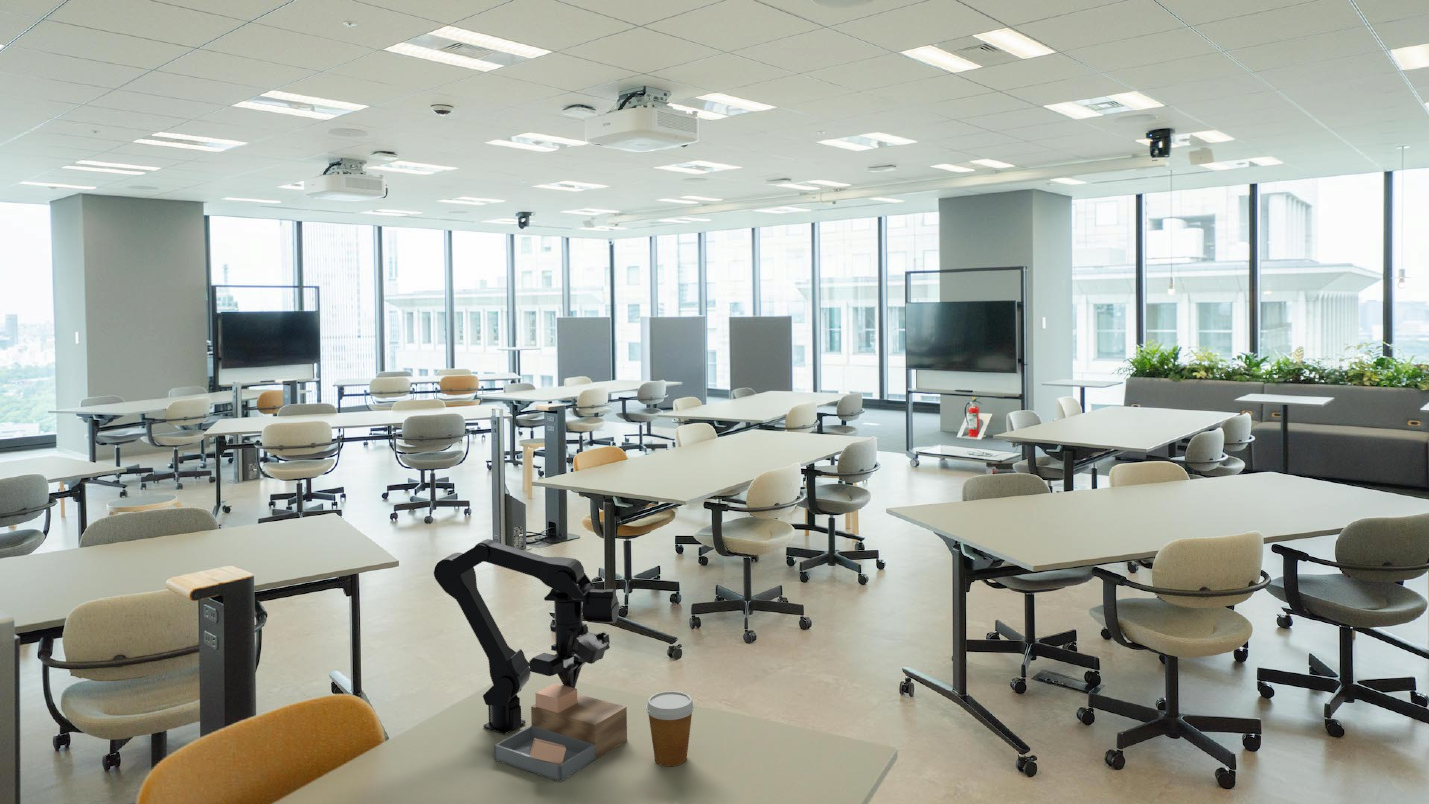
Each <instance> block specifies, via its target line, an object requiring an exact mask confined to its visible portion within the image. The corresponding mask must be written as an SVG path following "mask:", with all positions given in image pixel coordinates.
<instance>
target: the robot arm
mask: <svg viewBox="0 0 1429 804" xmlns="http://www.w3.org/2000/svg"><path fill="white" fill-rule="evenodd" d="M484 562H485V563H488V564H491V565H495V566H499V567H501V568H503V569H504V568H505V569H508V570H511V571H515V572H517V573H518V572H519V573H521V574H525V575H528V576H531V577H533V578H535V579H538V580H539V581H541V582H542V584H544V585H545V586H547V587H549V588H551V589H550V591H549V593H548V594H546V595H545V596H544V598H543V599H544V601H545V602H553V603H554V624H552V625H551V626H550V632H553V633H554V635H555V636H554V637H555V638H554V640H555V643H553V644H552V645H551V646H550V650H551V651H554V652H556V653H555V654H550V653H548V652H543V653H541V654H537V655H536V656H534V657H532V658H531V659H530V660H529V661H528V660H527V658H526V656H525V653H524V651H523V650H522V649H518V650H517V651H515V650H514V649H513V648H511V647H509V645H508V643H507V641H506V640H505V637H504V636H503V634H502V632H501V630H500V628H499V627H498V625H497V622H496V621H495V619H494V617H493V615H492V614H491V611H490V610H489V608H488V606H487V604H486V603H485V601H484V599H483V597H482V594H481V593H480V591H479V589H478V583H477V574H476V571H475V568H474V567H476V566H478V565H480V564H482V563H484ZM433 576H434V579H435V581H436V582H437V583H438V585H439V586H440V587H441V588H442V589H441V590H443V591H444V592H445V593H446V594H447V595H448V596H449V597H452V599H454V600H455V601H456V602H457V603H458V605H459V607H460V610H461V611H462V613H463V615H464V616H465V619H466V620H467V622H468V624H469V625H470V626H469V627H470V628H471V630H472V631H473V633H474V635H475V637H476V639H477V641H478V643H479V645H480V646H481V648H482V650H483V652H484V653H485V655H486V658H487V659H488V669H489V676H490V679H491V683H492V686H491V687H490V688H489V689H488V690H487V691H486V692H485V693H484V694H483V695H482V698H483V701H484V704H485V705H486V706H488V708H487V709H488V710H487V711H488V722H486V723H485V724H483V729H487V730H491V731H493V732H496V733H500V734H502V735H506V734H508V733H510V732H512V731H514V730H516V729H517V728H519V727H521V726H523V725H525V724H526V720H525V719H522V705H521V704H520V701H521V698H520V697H519V696H518V694H519V693H520V692H521V691H522V690H523V687H524V686H525V685H526V684H527V682H529V680H530V678H531V673H534V674H538V675H543V676H547V677H554V676H555V675H558V677H559V679H560V681H561V683H562V685H565V686H569V687H572V688H576V686H577V682H578V679H579V676H580V673H581V670H582V667H583V666H584V665H586V663H587V664H591V665H592V664H595V662H597V661H600V660H603V658H604V655H605V652H607V650H610V649H611V647H610V643H611V642H610V633H608V632H606V631H605V630H603V631H601V632H599V633H593V632H589V627H588V624H587V623H583V619H584V620H586V621H587V622H588V623H604V624H605V623H607V624H615V623H617V621H618V618H619V612H620V611H619V610H620V602H619V599H618V595H616V589H615V588H607V589H596V588H595V585H594V584H593V582H592V580H590V578H589V577H588V575H587V574H586V573H585V568H584V566H583V564H582V562H581V561H580V560H578V559H576V558H572V557H571V558H570V557H564V556H543V555H540V554H536V553H532V552H530V551H526V550H522V549H520V548H517V547H513V546H509V545H506V544H503V543H499V542H498V541H497V542H496V541H495V540H493V539H491V538H490V539H489V538H487V539H484V540H481V542H480V541H479V543H477V544H475V546H474V547H472V548H470V549H468V550H466V551H465V552H454V553H451V554H450V555H449V556H446V557H445V558H443V559H441V560H440V561H438V562H437V563H436V565H435V567H434V570H433Z"/></svg>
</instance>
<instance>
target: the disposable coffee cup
mask: <svg viewBox="0 0 1429 804" xmlns="http://www.w3.org/2000/svg"><path fill="white" fill-rule="evenodd" d="M694 709H695V702H694V701H693V698H692V697H691V695H690V694H688V693H685V692H682V691H678V690H677V691H672V690H671V691H669V690H668V691H661V692H660V691H659V692H657V693H654V694H652V695H651V696H650V697H648V699H647V703H646V706H645V710H646V711H647V715H648V722H649V727H650V735H651V742H652V747H653V748H652V749H653V755H654V761H655V763H656V764H658V765H660V766H664V767H677V766H680V765H682V764H684V763H686V762H687V758H688V750H689V743H690V741H689V740H690V731H691V724H692V717H693V716H692V715H693V712H694Z"/></svg>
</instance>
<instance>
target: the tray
mask: <svg viewBox="0 0 1429 804" xmlns="http://www.w3.org/2000/svg"><path fill="white" fill-rule="evenodd" d="M534 738H536V739H540V740H544V741H549V742H553V743H557V744H561V745H564V746H565V747H566V751H565V755H564V758H563V762H562V764H556V763H552V762H548V761H544V760H539V759H535V758H531V757H530V751H531V748H532V744H533V741H534ZM493 749H494V750H493V754H494V755H493V758H494V761H496V762H498V763H503V764H505V765H508V766H511V767H514V768H517V769H520V770H523V771H526V772H529V773H531V774H535V775H538V776H541V777H544V778H546V779H549V780H552V781H555V782H558V783H561V782H563V781H565V780H566V779H567V778H569V777H571V776H573V774H576V773H577V772H579V771H580V770H581V769H583V768H585V767H586V766H588V765H590V764H591V763H592V762H593V763H594V762H595V761H596V760H597V759H596V745H595V744H592V743H588V742H585V741H582V740H579V739H575V738H572V737H569V736H565V735H562V734H559V733H555V732H552V731H549V730H545V729H542V728H539V727H535V726H532V724H531V725H530V726H528V727H525V728H524V729H521V731H518V732H516V733H515V734H512V735H511V736H508V737H507V738H504V739H503V740H501V741H500V742H499V741H498V742H497V743H496V744H494V745H493Z"/></svg>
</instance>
